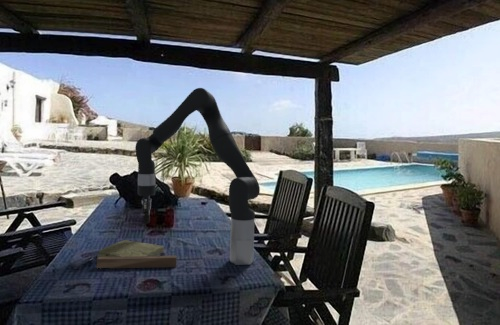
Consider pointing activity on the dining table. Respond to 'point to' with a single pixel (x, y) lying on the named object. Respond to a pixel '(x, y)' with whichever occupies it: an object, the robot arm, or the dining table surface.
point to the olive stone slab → (131, 249)
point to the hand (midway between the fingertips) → (146, 223)
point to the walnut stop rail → (136, 262)
